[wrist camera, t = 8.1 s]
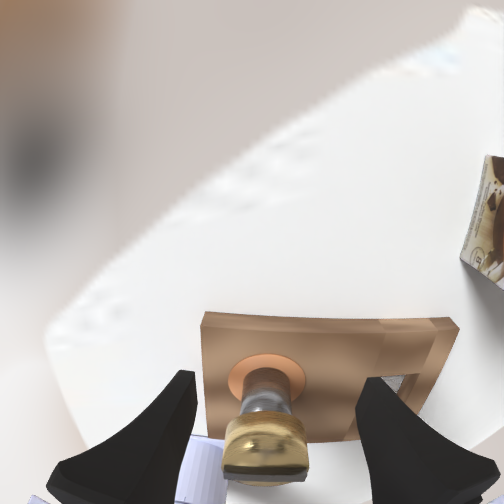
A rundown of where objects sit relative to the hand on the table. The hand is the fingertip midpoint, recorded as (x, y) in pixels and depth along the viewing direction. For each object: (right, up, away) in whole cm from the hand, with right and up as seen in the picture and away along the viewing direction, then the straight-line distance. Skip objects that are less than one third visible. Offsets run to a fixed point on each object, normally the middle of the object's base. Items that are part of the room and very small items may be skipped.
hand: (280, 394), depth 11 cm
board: (+5, -6, +13) cm, 15 cm away
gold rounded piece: (0, -4, +10) cm, 11 cm away
